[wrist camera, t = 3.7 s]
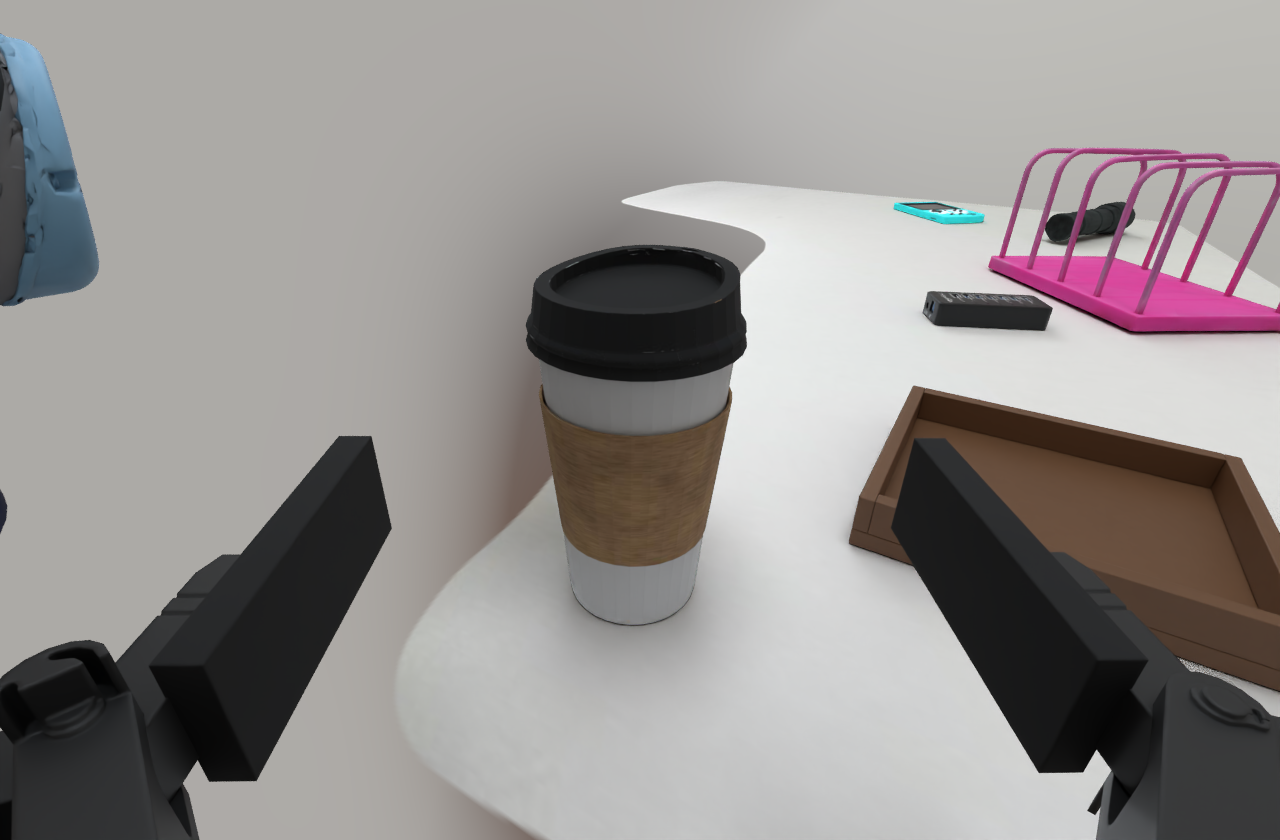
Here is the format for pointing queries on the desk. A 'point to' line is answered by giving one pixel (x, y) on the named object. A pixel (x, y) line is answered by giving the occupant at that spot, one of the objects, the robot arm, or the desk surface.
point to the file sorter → (1136, 289)
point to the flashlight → (1088, 221)
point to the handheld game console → (940, 212)
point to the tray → (1114, 520)
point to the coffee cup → (636, 415)
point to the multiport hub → (987, 310)
